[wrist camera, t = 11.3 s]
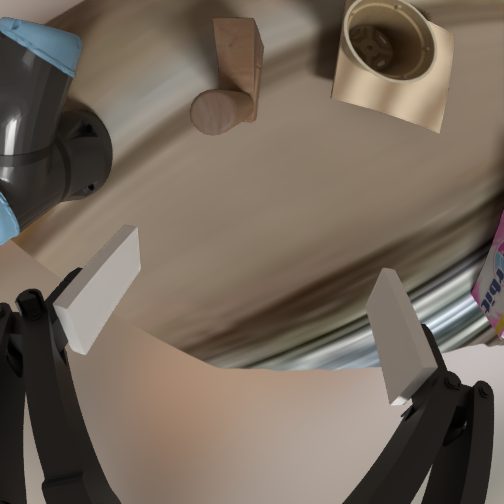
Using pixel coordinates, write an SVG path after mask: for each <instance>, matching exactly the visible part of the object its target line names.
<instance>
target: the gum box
mask: <svg viewBox="0 0 504 504" xmlns="http://www.w3.org/2000/svg"><path fill="white" fill-rule="evenodd" d="M471 295H472V296H473V298H474V299H475V301H476V302H477V304H478V305H479V307H480V308H481V310H482V311H483V313H484V314H485V316H486V317H487V319H488V320H489V322H490V323H491V325H492V327H493V328H494V330H495V331H496V333H497V334H498V336H499V338H500V339H502V338H504V210H503V213H502V216H501V219H500V223H499V226H498V229H497V231H496V234H495V237H494V240H493V243H492V246H491V248H490V251H489V253H488V255H487V258H486V260H485V263H484V266H483V268H482V270H481V272H480V274H479V277H478V279H477V281H476V284H475V286H474V288H473V290H472V292H471ZM501 337H502V338H501Z"/></svg>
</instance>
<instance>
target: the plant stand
mask: <svg viewBox="0 0 504 504" xmlns="http://www.w3.org/2000/svg"><path fill="white" fill-rule="evenodd" d="M355 1H356V0H345V6H344V14H343V21H342V28H341V35H340V42H339V49H338V55H337V61H336V68H335V74H334V80H333V85H332V91H331V97H330V98H331V99H335V100H340V101H344V102H347V103H351V104H355V105H359V106H362V107H366V108H369V109H372V110H376V111H379V112H382V113H385V114H388V115H391V116H394V117H397V118H400V119H403V120H406V121H408V122H411V123H414V124H416V125H419V126H422V127H424V128H427V129H429V130H432V131H434V132H437V133H440V128H441V124H442V119H443V114H444V109H445V104H446V99H447V93H448V87H449V80H450V73H451V65H452V57H453V46H454V34H452V33H450V32H448V31H447V30H445V29H443V28H441V27H439V26H437V25H435V24H433V23H431V22H429V21H427V22H428V23H429V25H430V26H431V29H432V30H433V32H434V35H435V38H436V42H437V58H436V61H435V64H434V66H433V68H432V70H431V71H430V73H429V74H428V75H426V76H425V77H424V78H423V79H421V80H419V81H416V82H413V83H405V84H401V83H393V82H389V81H386V80H383V79H381V78H379V77H377V76H375V75H373V74H372V73H371V72H368V71H365V70H362V69H360V68H358V67H357V66H355V65H354V64H353V63H352V62H351V61H350V60H349V59H348V57H347V55H346V53H345V51H344V47H343V40H344V31H343V22H344V17H345V14H346V12H347V10H348V8H349V7H350V6H351V4H352V3H354V2H355ZM357 32H359V30H358V29H356V30H354V31H352V32H351V35H354V34H356V33H357ZM379 37H380V38H381V39H382V41H383V43H385V44H386V43H387V42H386V41H385V39H384V38H383V37H381V36H380V35H379ZM368 48H369V49H371V46H368ZM384 64H385V61H384V60H382V61H381V62H379V63H378V64H377V65H378V67H379V66H382V65H384Z"/></svg>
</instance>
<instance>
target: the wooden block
mask: <svg viewBox="0 0 504 504" xmlns="http://www.w3.org/2000/svg"><path fill="white" fill-rule="evenodd" d="M213 28H214V36H215V44H216V53H217V61H218V69H219V77H220V85H221V90H218V89H213V90H207V91H205V92H202V93H200V94H199V95H198V96H197V97H196V98H195V99H194V101H193V103H192V104H191V109H190V118H191V121H192V123H193V125H194V126H195V127H196V128H197V129H198V130H199V131H200V132H202V133H204V134H207V135H220V134H222V133H225V132H227V131H228V130H230V129H231V128H233V127H234V126H236V125H237V124H239V123H241V122H251V123H252V122H254V121H255V120H256V117H257V107H258V98H259V88H260V79H261V70H260V69H261V67H262V60H263V51H264V46H263V43H262V40H261V38H260V33H259V30H258V28H257V25H256V22H255V20H254V19H253V18H238V17H214V18H213Z"/></svg>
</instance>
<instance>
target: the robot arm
mask: <svg viewBox="0 0 504 504" xmlns="http://www.w3.org/2000/svg"><path fill="white" fill-rule="evenodd" d="M82 48H83V44H82V40H81V39H80V37H79V36H77V35H75V34H73V33H70V32H67V31H63V30H60V29H57V28H53V27H49V26H46V25H42V24H37V23H33V22H28V21H23V20H18V19H14V18H9V17H2V18H1V19H0V245H2V244H4V243H5V242H6V241H8V240H9V239H11V238H12V237H16V236H17V235H18V234H19V233H20V232H21V231H23V230H24V229H25V228H26V227H28V226H29V225H30V224H31V223H33V222H34V221H35V220H37V219H38V218H39V217H41V216H42V215H43V214H45V213H46V212H47V211H49V210H50V209H51V208H53V207H54V206H56V205H57V204H59V203H60V202H65V201H72V200H79V199H83V198H86V197H88V196H90V195H91V194H93V193H94V192H96V191H97V190H99V189H100V188H101V187H102V186H103V184H104V183H105V182H106V180H107V178H108V176H109V173H110V170H111V166H112V145H111V140H110V137H109V134H108V132H107V130H106V128H105V126H104V125H103V123H102V122H101V121H100V120H99V119H98V118H97V117H96V116H95V115H93V114H92V113H90V112H88V111H84V110H73V111H68V112H64V113H62V110H63V107H64V104H65V101H66V97H67V94H68V91H69V88H70V85H71V82H72V80H73V78H75V70H76V67H77V63H78V61H79V58H80V55H81V52H82ZM140 270H141V265H140V255H139V243H138V229H137V227H135V226H129V225H124V226H123V227H122V228H121V229H120V230H119V231H118V232H117V233H116V234H115V235H114V236H113V237H112V238H111V239H110V240H109V242H108V243H107V244H106V245H105V246H104V247H103V248H102V249H101V250H100V251H99V252H98V253H97V254H96V255H95V256H94V257H93V258H92V259H91V260H90V262H89V263H88V264H87V265H86V266H85V267H84V268H79V267H78V268H77V269H75V270H73V271H72V272H70V273H69V274H68V275H67V276H66V277H65V278H64V281H62V282H61V283H60V284H59V286H57V287H56V289H55V290H54V291H53V292H52V293H51V294H50V296H49V297H48V298H47V299H46V300H45V301H44V299H43V296H42V294H41V292H40V291H39V290H38V289H28V290H25V291H23V292H22V293H20V294H19V296H18V297H17V298H16V301H15V304H16V306H17V308H18V310H19V312H12V310H11V308H10V306H9V304H7V303H0V504H27V499H26V487H25V476H24V458H23V424H24V406H25V394H26V396H27V403H28V409H29V415H30V420H31V425H32V430H33V435H34V439H35V444H36V448H37V452H38V455H39V459H40V463H41V466H42V469H43V473H44V477H45V480H44V482H43V483H42V491H43V495H44V498H45V501H46V504H121V502H120V500H119V499H118V497H117V496H116V495H115V494H114V492H113V491H112V489H111V488H110V486H109V484H108V481H107V480H106V477H105V475H104V473H103V470H102V468H101V466H100V463H99V461H98V459H97V456H96V453H95V451H94V448H93V446H92V443H91V440H90V437H89V434H88V432H87V429H86V426H85V423H84V420H83V416H82V413H81V410H80V406H79V403H78V399H77V396H76V392H75V388H74V384H73V380H72V376H71V372H70V367H69V363H68V358H67V352H66V350H65V348H64V347H65V346H66V344H67V343H68V342H69V344H70V347H71V349H72V350H73V351H75V352H78V353H81V354H83V355H86V354H87V352H88V351H89V349H90V347H91V346H92V344H93V342H94V341H95V339H96V337H97V336H98V334H99V332H100V331H101V329H102V328H103V326H104V324H105V323H106V321H107V320H108V318H109V316H110V315H111V313H112V312H113V310H114V309H115V307H116V306H117V304H118V302H119V301H120V299H121V298H122V296H123V295H124V293H125V292H126V290H127V289H128V287H129V286H130V284H131V283H132V282H133V280H134V279H135V277H136V276H137V274H138V273H139V271H140ZM365 308H366V311H367V314H368V318H369V321H370V325H371V328H372V332H373V336H374V339H375V343H376V347H377V351H378V355H379V359H380V363H381V367H382V371H383V376H384V380H385V384H386V389H387V394H388V398H389V403H390V405H404V404H405V403H406V402H407V401H408V400H409V399H410V398H411V399H412V402H413V404H412V405H411V406H410V407H409V408H408V409H407V410H406V411H405V412H404V413H403V414H402V415H401V417H403V416H404V415H405V416H404V418H403V419H402V421H401V423H400V425H399V426H398V428H397V429H396V431H395V433H394V434H393V436H392V438H391V439H390V441H389V442H388V444H387V445H386V447H385V448H384V450H383V451H382V453H381V454H380V456H379V457H378V459H377V460H376V461H375V463H374V464H373V466H372V467H371V468H370V470H369V471H368V473H367V474H366V475H365V476H364V478H363V479H362V480H361V482H360V483H359V484H358V485H357V487H356V488H355V489H354V490H353V491H352V493H351V494H350V495H349V496H348V498H347V499H346V500H345V501H344V502H343V503H342V504H410V503H411V501H412V500H413V499H414V497H415V495H416V493H417V492H418V490H419V488H420V487H421V485H422V483H423V481H424V479H425V477H426V475H427V474H428V472H429V470H430V468H431V466H432V469H431V472H430V476H429V480H428V484H427V487H426V490H425V493H424V496H423V500H422V503H421V504H484V503H485V499H486V494H487V489H488V483H489V476H490V468H491V461H492V450H493V435H494V394H493V390H492V388H491V386H490V385H489V384H488V383H486V382H485V381H478V382H476V384H475V385H474V386H473V387H470V386H467V385H463V384H461V380H460V379H459V377H458V376H457V375H456V374H455V373H453V372H451V371H447V368H446V365H445V363H444V360H443V358H442V355H441V353H440V350H439V348H438V346H437V343H436V342H435V339H434V336H433V334H432V332H431V331H430V329H429V328H428V327H427V326H426V325H425V324H420V322H419V320H418V317H417V315H416V313H415V311H414V309H413V306H412V304H411V302H410V300H409V298H408V296H407V294H406V292H405V289H404V287H403V285H402V283H401V281H400V279H399V277H398V275H397V273H396V272H395V270H393V269H388V268H382V270H381V273H380V275H379V277H378V280H377V282H376V284H375V286H374V289H373V291H372V293H371V295H370V297H369V299H368V302H367V304H366V306H365ZM465 427H466V428H465ZM432 464H433V465H432Z"/></svg>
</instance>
